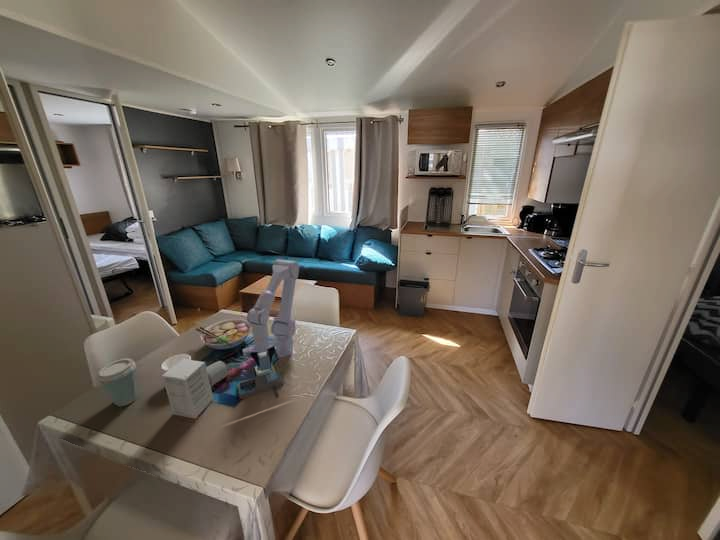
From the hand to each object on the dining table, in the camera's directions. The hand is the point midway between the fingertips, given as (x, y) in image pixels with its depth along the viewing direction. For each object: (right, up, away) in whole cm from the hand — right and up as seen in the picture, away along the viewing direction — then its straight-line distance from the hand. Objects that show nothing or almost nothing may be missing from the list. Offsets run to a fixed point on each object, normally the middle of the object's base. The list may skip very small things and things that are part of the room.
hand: (264, 364), depth 115 cm
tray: (0, -4, +1) cm, 4 cm away
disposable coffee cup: (-46, -9, -13) cm, 49 cm away
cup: (-32, -6, -4) cm, 33 cm away
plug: (0, -1, 0) cm, 1 cm away
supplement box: (-20, -10, -15) cm, 27 cm away
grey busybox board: (+2, -8, -8) cm, 12 cm away
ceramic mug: (-20, -6, -3) cm, 21 cm away
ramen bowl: (-24, +3, +21) cm, 32 cm away
